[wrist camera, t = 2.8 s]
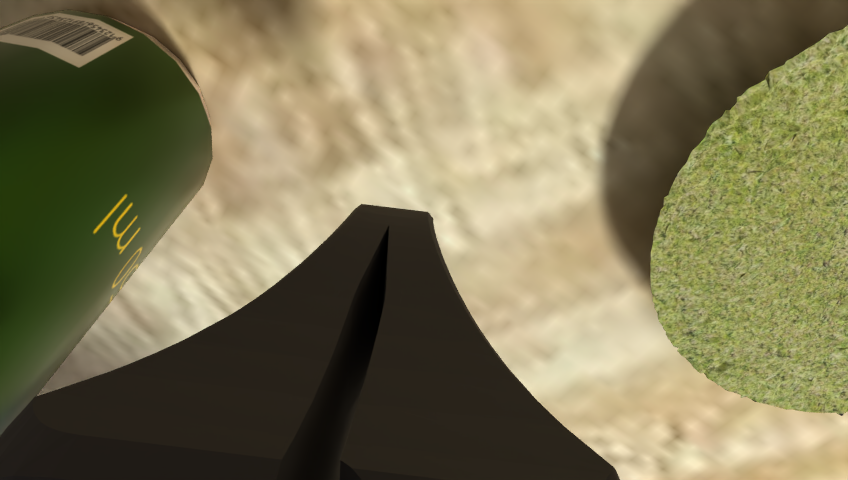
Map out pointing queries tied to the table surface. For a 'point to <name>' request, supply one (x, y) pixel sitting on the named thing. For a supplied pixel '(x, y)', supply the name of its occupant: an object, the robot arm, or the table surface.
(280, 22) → the table surface
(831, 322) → the green disc with hole
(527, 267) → the table surface
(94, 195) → the beer can
